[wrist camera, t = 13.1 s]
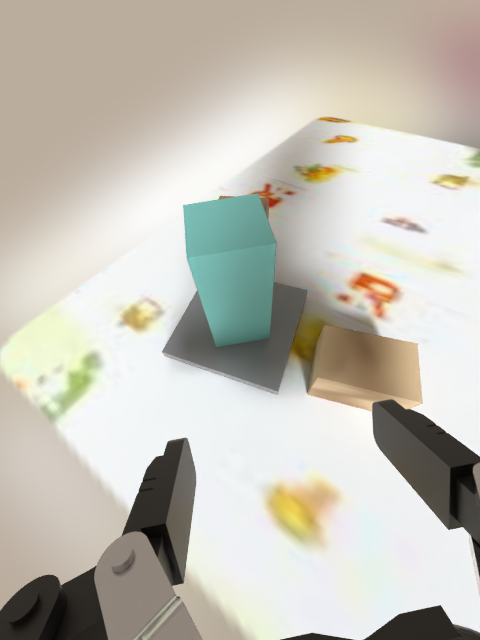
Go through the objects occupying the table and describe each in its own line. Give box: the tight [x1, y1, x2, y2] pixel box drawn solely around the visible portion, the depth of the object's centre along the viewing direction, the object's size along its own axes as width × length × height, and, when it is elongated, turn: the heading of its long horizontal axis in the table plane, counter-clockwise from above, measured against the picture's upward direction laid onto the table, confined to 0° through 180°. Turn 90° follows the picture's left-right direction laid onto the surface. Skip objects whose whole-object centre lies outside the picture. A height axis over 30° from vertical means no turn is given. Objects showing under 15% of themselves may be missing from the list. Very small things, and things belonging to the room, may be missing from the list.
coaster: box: [162, 283, 307, 394], centre depth 22 cm, size 10×10×1 cm
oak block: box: [308, 325, 422, 411], centre depth 18 cm, size 6×4×4 cm, turn 74°
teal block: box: [183, 193, 276, 347], centre depth 18 cm, size 4×4×10 cm
